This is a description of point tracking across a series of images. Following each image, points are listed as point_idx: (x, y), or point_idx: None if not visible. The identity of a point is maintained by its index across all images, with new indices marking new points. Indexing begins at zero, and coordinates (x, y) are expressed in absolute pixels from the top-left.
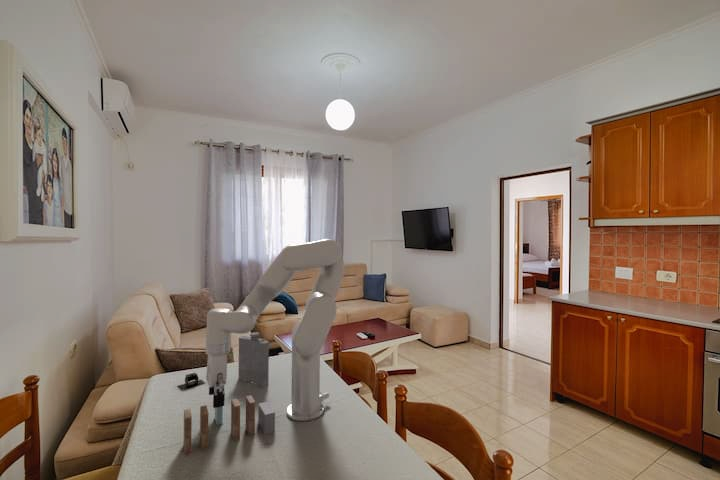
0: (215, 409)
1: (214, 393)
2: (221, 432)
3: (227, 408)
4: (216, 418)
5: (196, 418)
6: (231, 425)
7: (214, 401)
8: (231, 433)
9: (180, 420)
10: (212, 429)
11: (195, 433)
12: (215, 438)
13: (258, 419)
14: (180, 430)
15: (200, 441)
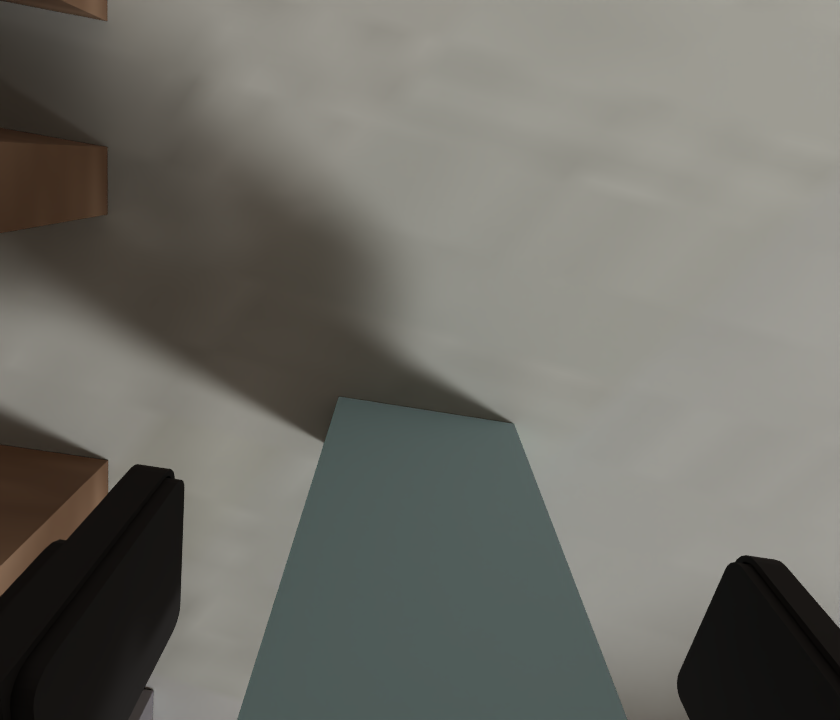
0: (474, 480)
1: (706, 636)
2: (158, 387)
3: (621, 580)
4: (377, 428)
5: (661, 259)
6: (31, 503)
7: (69, 557)
8: (79, 456)
9: (771, 75)
10: (279, 332)
11: (307, 148)
12: (67, 301)
13: (132, 717)
14: (506, 4)
15: (51, 137)
